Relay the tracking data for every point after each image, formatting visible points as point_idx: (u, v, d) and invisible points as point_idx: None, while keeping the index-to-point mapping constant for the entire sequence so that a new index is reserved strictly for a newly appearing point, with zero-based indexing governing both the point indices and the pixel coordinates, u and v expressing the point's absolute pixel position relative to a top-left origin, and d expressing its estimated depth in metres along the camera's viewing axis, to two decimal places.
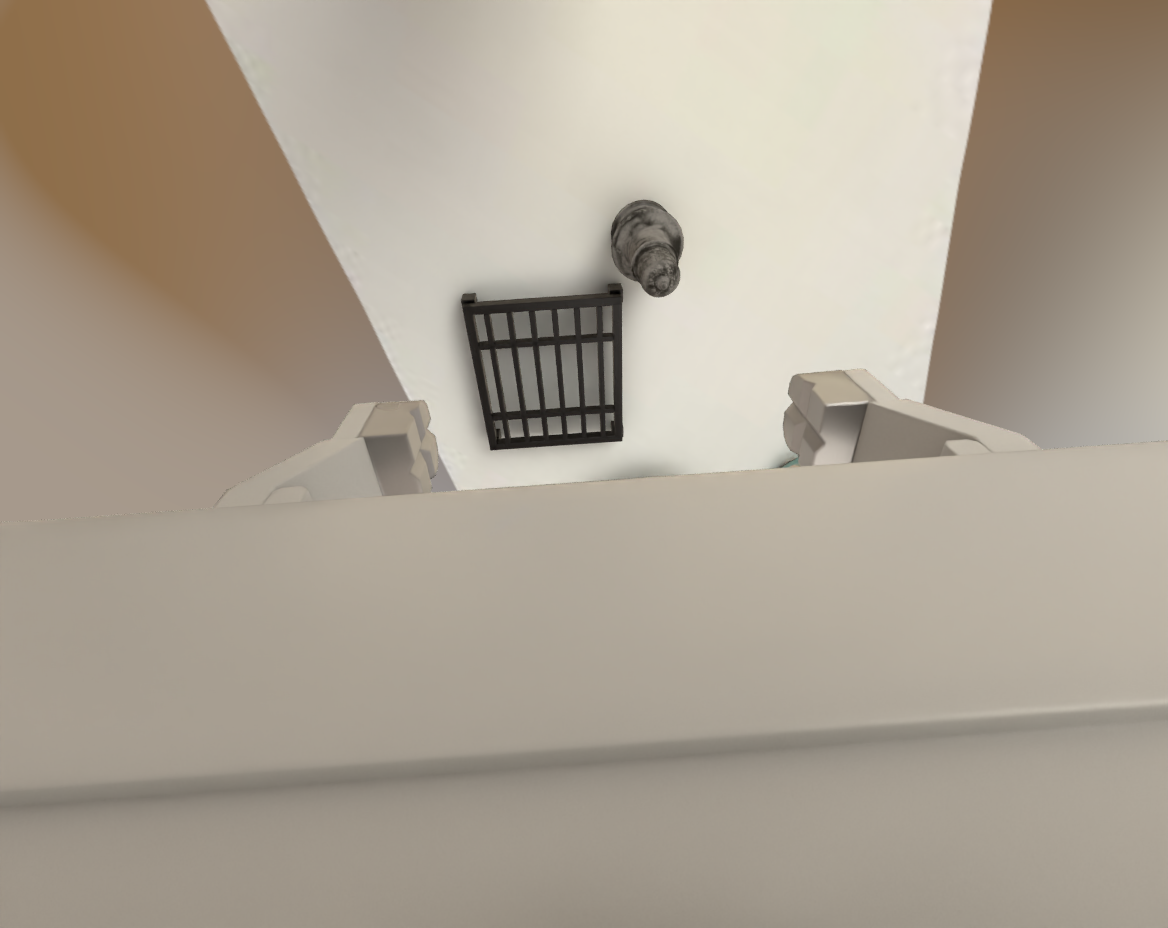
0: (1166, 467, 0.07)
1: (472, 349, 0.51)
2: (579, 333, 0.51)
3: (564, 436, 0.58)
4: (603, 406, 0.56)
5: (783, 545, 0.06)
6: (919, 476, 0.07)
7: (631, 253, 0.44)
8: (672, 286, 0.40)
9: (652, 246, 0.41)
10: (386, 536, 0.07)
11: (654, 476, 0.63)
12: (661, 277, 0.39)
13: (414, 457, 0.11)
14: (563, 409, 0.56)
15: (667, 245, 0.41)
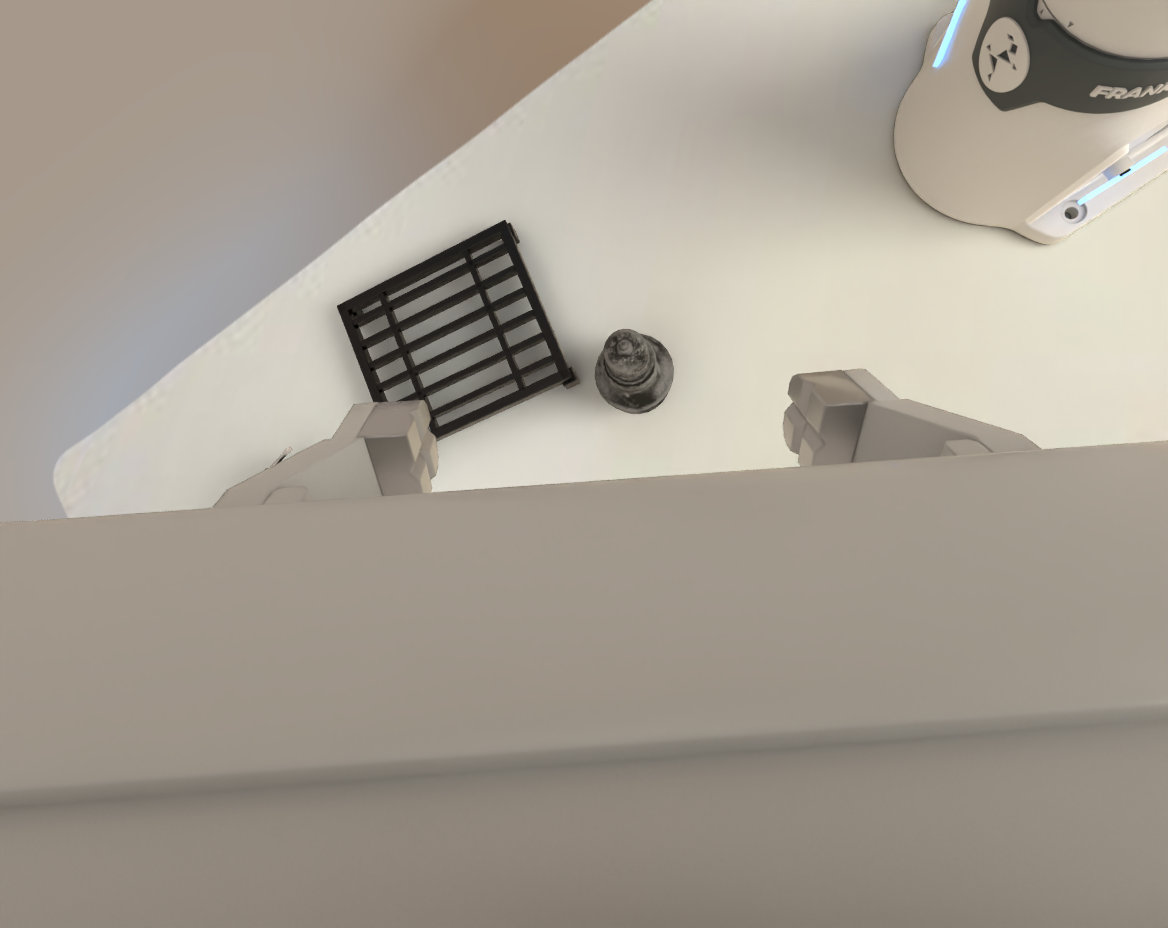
0: (1166, 467, 0.07)
1: (460, 244, 0.45)
2: (515, 349, 0.44)
3: (380, 384, 0.46)
4: (435, 413, 0.45)
5: (782, 545, 0.06)
6: (919, 476, 0.07)
7: None
8: (623, 362, 0.34)
9: None
10: (386, 536, 0.07)
11: None
12: (629, 343, 0.34)
13: (414, 457, 0.11)
14: (417, 369, 0.45)
15: (653, 364, 0.37)
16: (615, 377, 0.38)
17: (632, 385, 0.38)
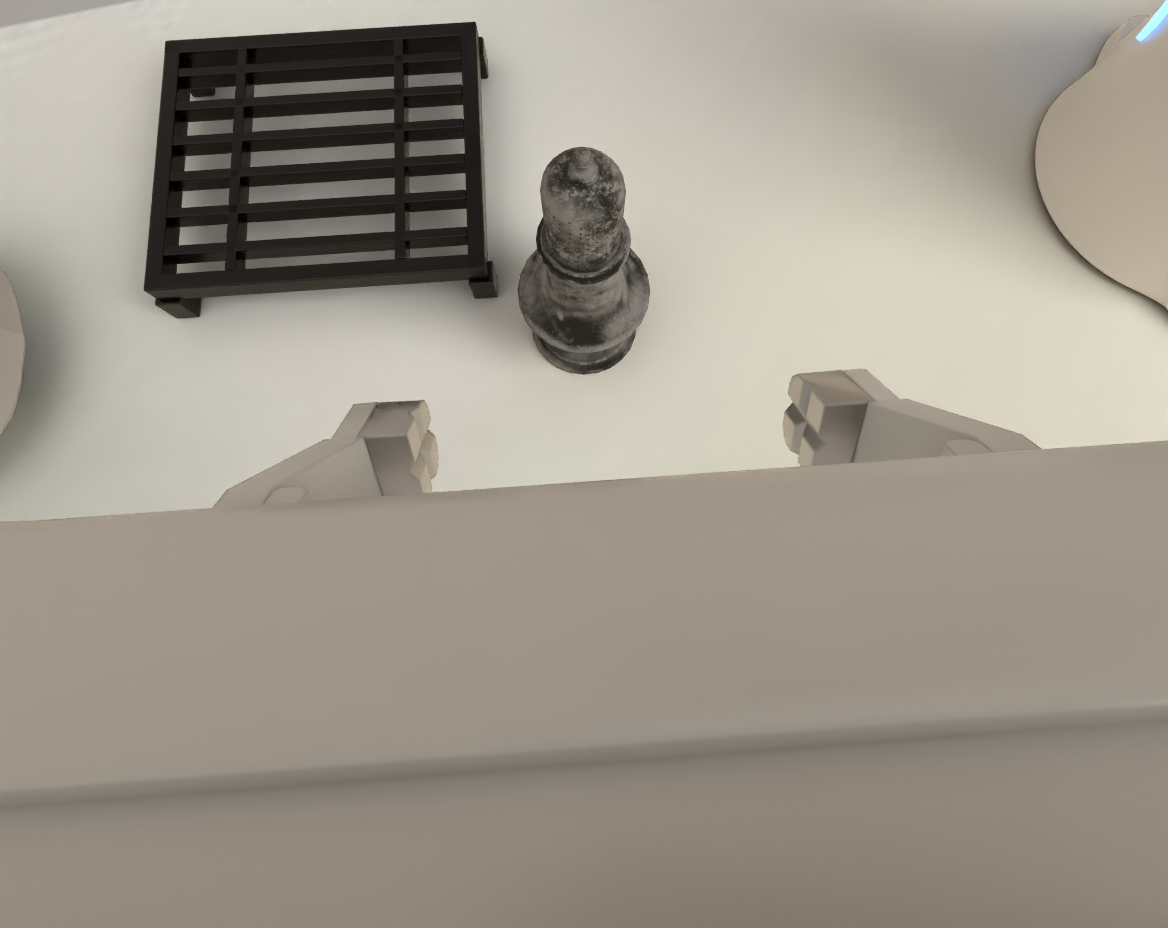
0: (1166, 467, 0.07)
1: (396, 28, 0.29)
2: (415, 199, 0.27)
3: (177, 174, 0.27)
4: (243, 247, 0.26)
5: (783, 545, 0.06)
6: (919, 476, 0.07)
7: None
8: (571, 197, 0.17)
9: None
10: (386, 536, 0.07)
11: (20, 375, 0.26)
12: (595, 165, 0.17)
13: (414, 457, 0.11)
14: (246, 172, 0.27)
15: (620, 257, 0.21)
16: (549, 254, 0.21)
17: (573, 279, 0.21)
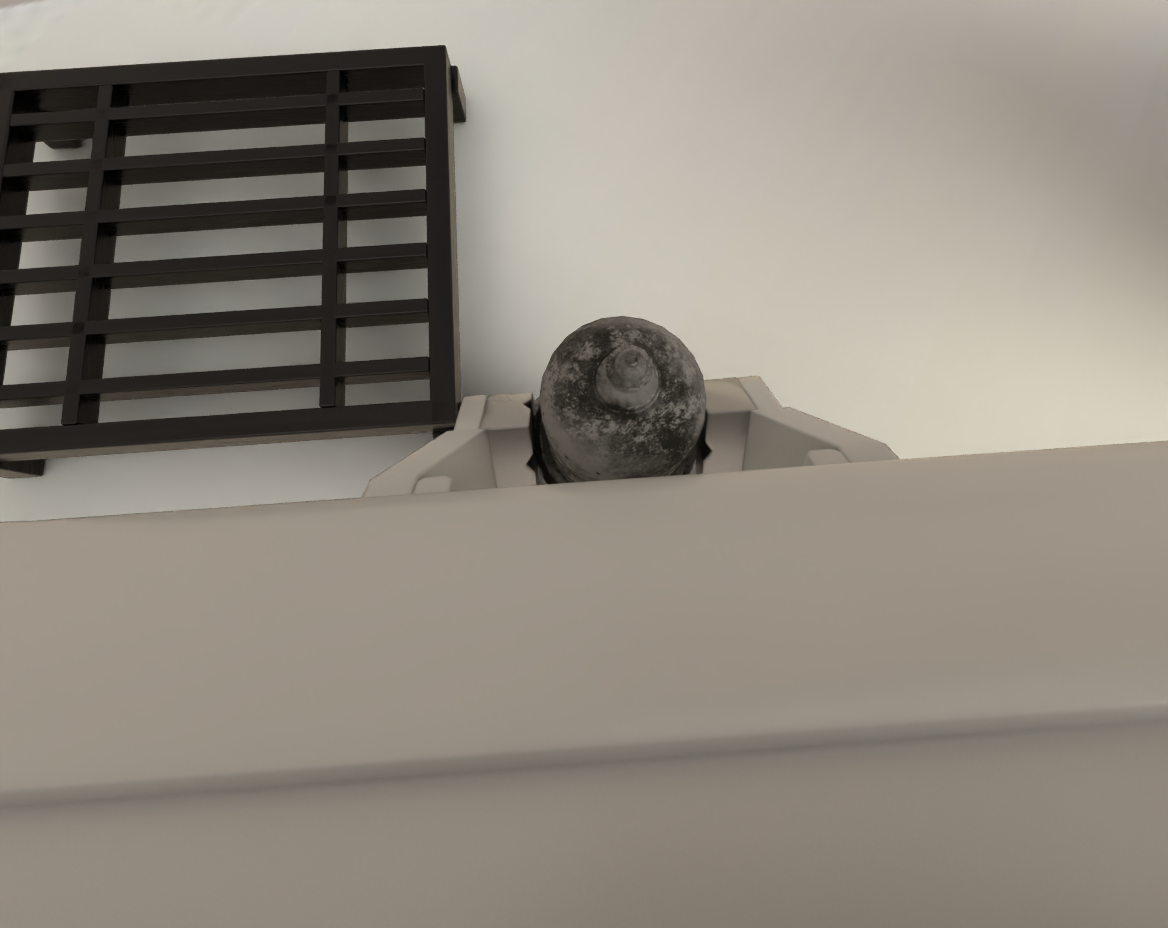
0: (1166, 467, 0.07)
1: (329, 55, 0.20)
2: (351, 312, 0.18)
3: None
4: (90, 389, 0.17)
5: (783, 545, 0.06)
6: (919, 476, 0.07)
7: None
8: (603, 434, 0.09)
9: None
10: (386, 536, 0.07)
11: None
12: (653, 371, 0.08)
13: (532, 449, 0.11)
14: (101, 271, 0.18)
15: (681, 473, 0.12)
16: (556, 470, 0.12)
17: None
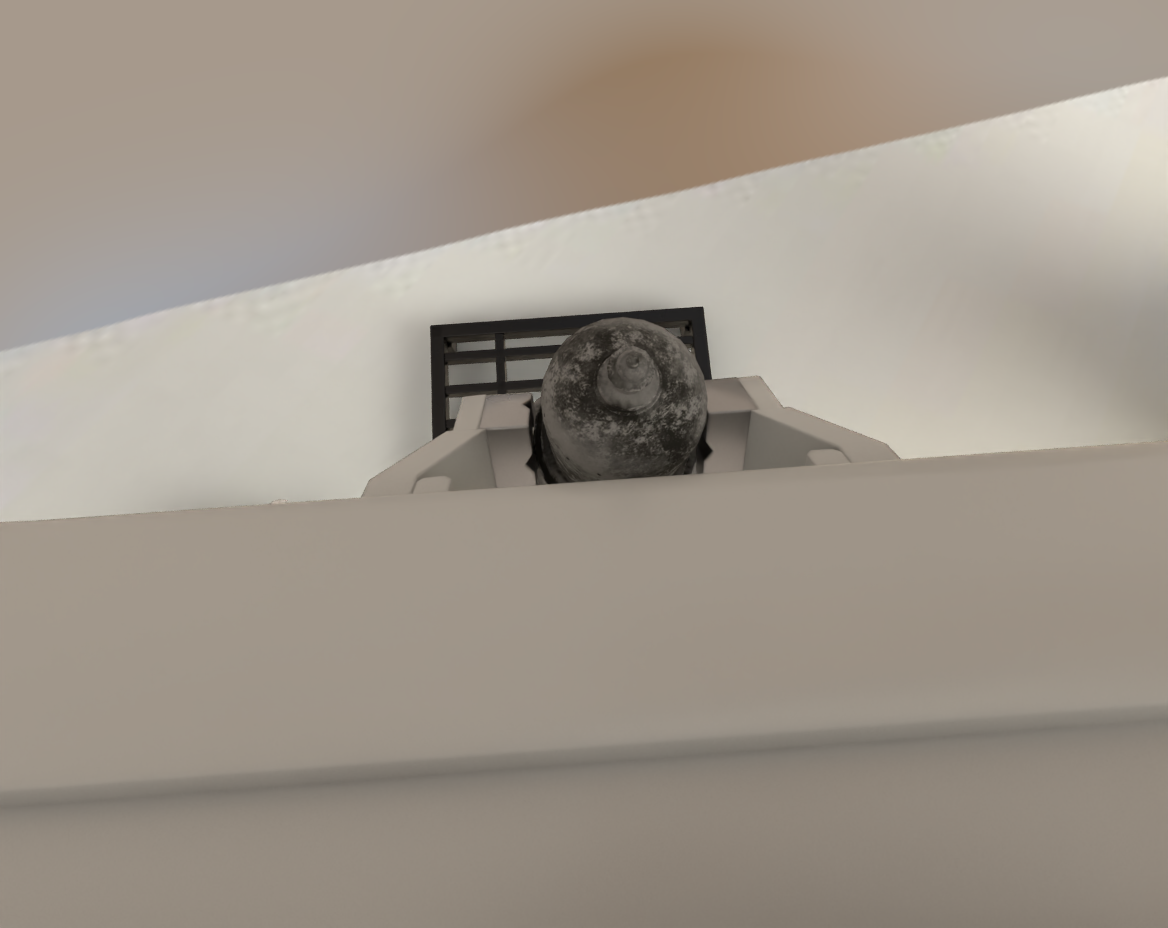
0: (1166, 467, 0.07)
1: (633, 313, 0.32)
2: None
3: None
4: None
5: (783, 545, 0.06)
6: (919, 476, 0.07)
7: None
8: (604, 435, 0.08)
9: None
10: (386, 536, 0.07)
11: None
12: (654, 372, 0.08)
13: (532, 449, 0.11)
14: None
15: (682, 474, 0.12)
16: (556, 471, 0.12)
17: None
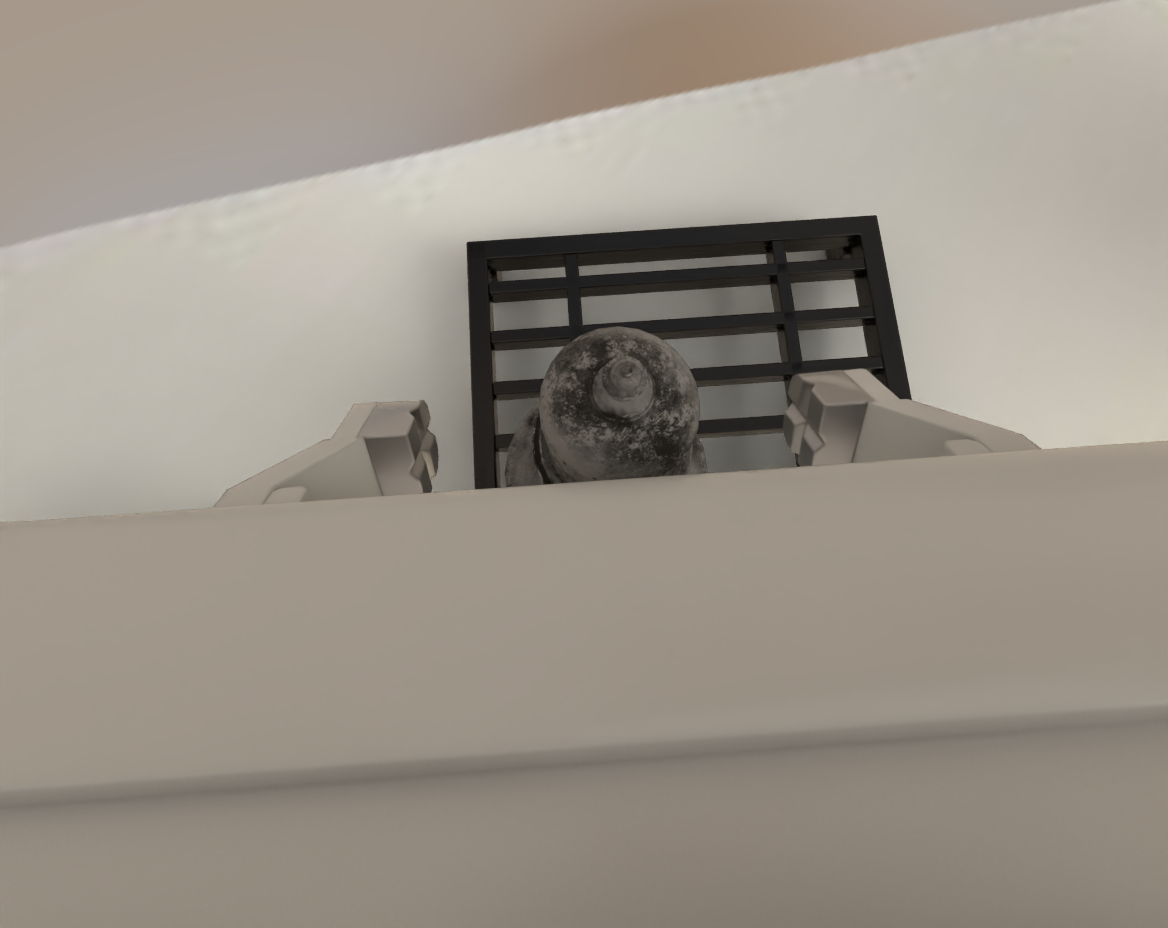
0: (1166, 467, 0.07)
1: (772, 225, 0.22)
2: None
3: (505, 438, 0.20)
4: None
5: (783, 545, 0.06)
6: (919, 476, 0.07)
7: None
8: (600, 441, 0.09)
9: None
10: (386, 536, 0.07)
11: None
12: (648, 380, 0.09)
13: (414, 457, 0.11)
14: None
15: None
16: (555, 474, 0.12)
17: None
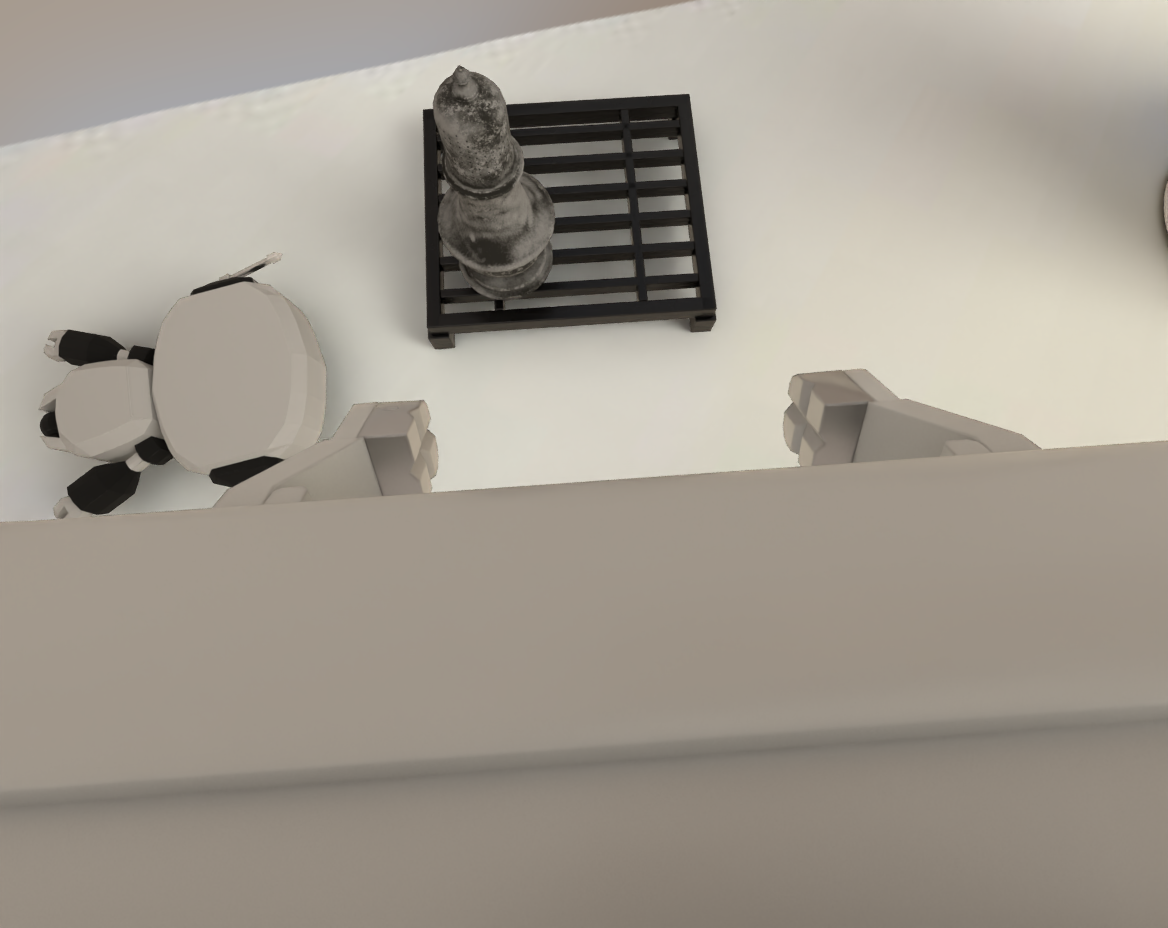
0: (1166, 467, 0.07)
1: (621, 99, 0.33)
2: (651, 249, 0.31)
3: None
4: None
5: (783, 545, 0.06)
6: (919, 476, 0.07)
7: None
8: (455, 112, 0.20)
9: (514, 151, 0.24)
10: (386, 536, 0.07)
11: (325, 400, 0.30)
12: (475, 84, 0.20)
13: (414, 457, 0.11)
14: None
15: (514, 176, 0.24)
16: (451, 173, 0.24)
17: (472, 194, 0.24)
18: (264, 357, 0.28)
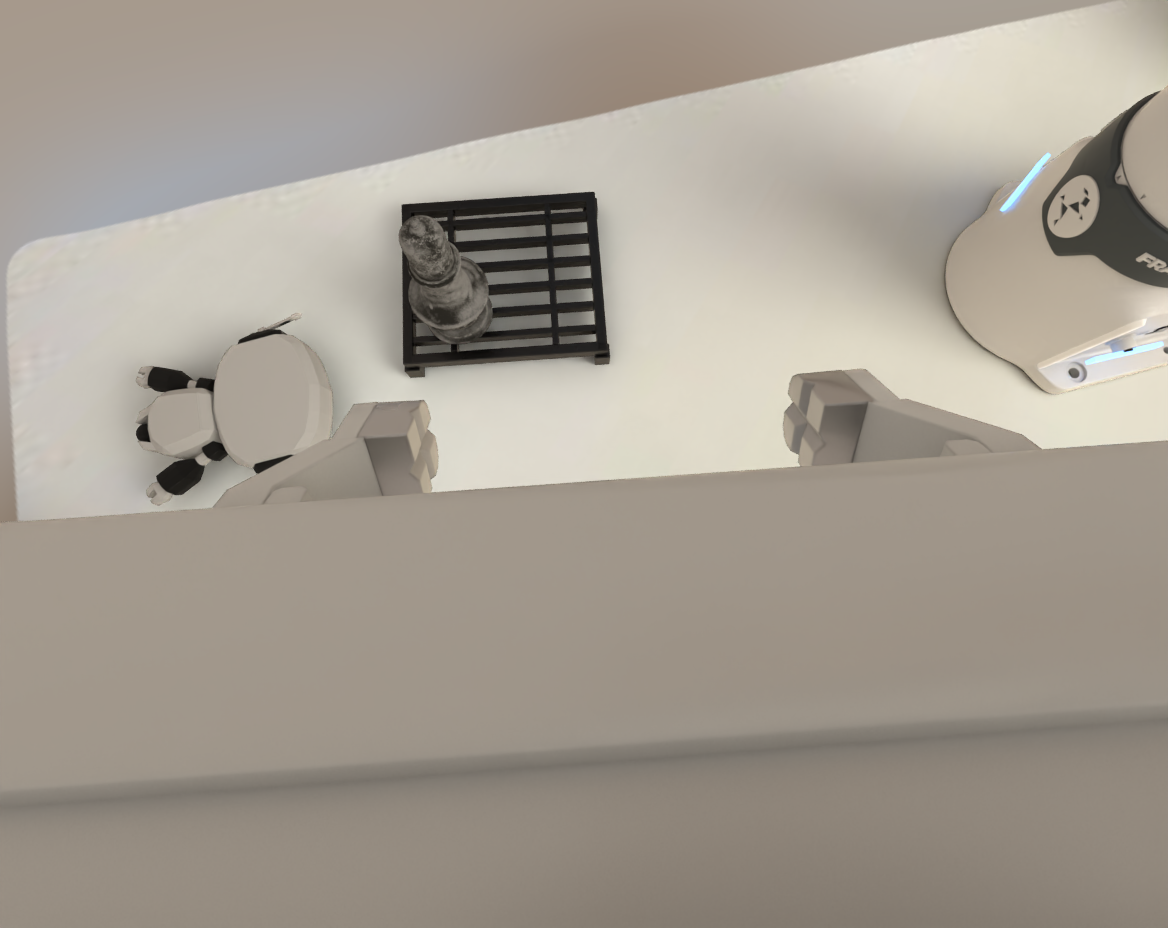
0: (1166, 467, 0.07)
1: (545, 196, 0.46)
2: (563, 307, 0.44)
3: None
4: None
5: (783, 545, 0.06)
6: (919, 476, 0.07)
7: None
8: (411, 242, 0.33)
9: (454, 255, 0.37)
10: (386, 536, 0.07)
11: (332, 415, 0.43)
12: (423, 226, 0.33)
13: (414, 457, 0.11)
14: None
15: (454, 272, 0.37)
16: (413, 271, 0.37)
17: (427, 285, 0.36)
18: (290, 387, 0.41)
